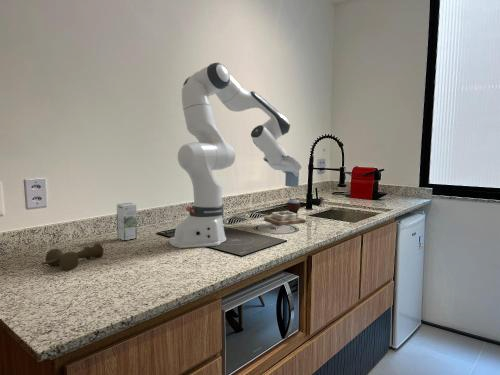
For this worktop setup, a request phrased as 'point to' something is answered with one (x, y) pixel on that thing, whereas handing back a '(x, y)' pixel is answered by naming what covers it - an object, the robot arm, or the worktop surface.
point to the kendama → (72, 257)
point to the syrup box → (126, 221)
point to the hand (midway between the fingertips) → (292, 175)
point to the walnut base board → (284, 218)
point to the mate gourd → (293, 204)
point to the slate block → (291, 179)
